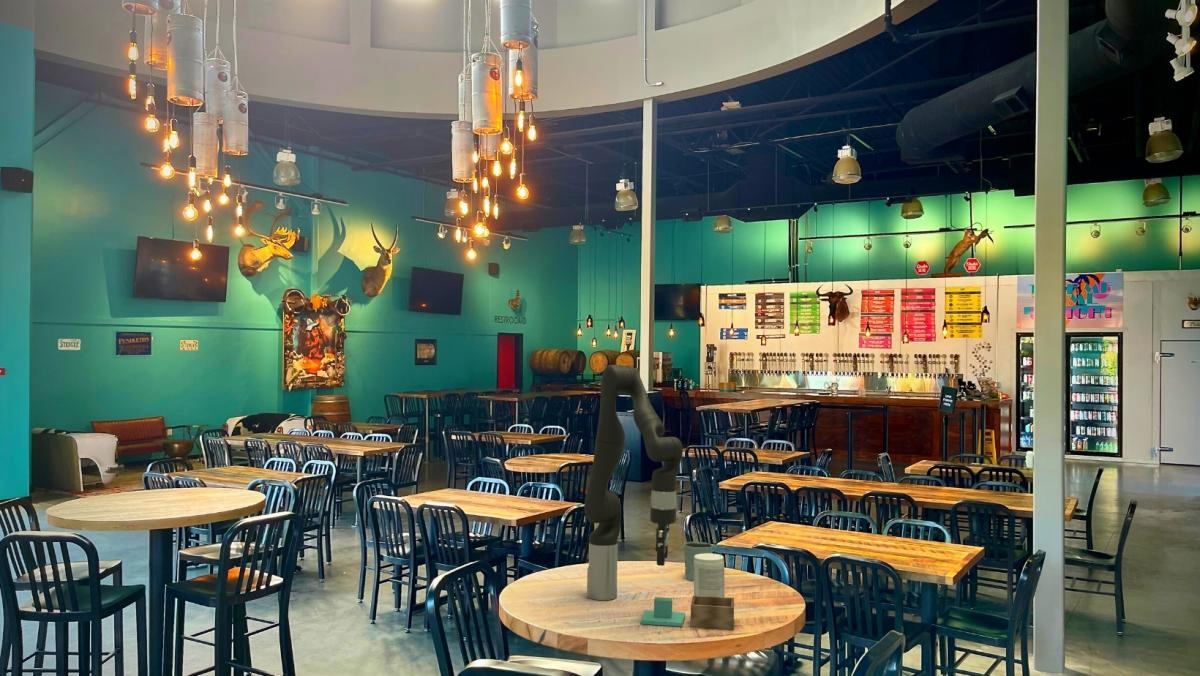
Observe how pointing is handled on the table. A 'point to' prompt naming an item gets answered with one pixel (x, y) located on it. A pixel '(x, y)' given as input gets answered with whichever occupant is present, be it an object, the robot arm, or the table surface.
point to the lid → (662, 614)
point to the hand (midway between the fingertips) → (662, 561)
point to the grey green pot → (691, 551)
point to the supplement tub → (709, 575)
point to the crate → (712, 612)
